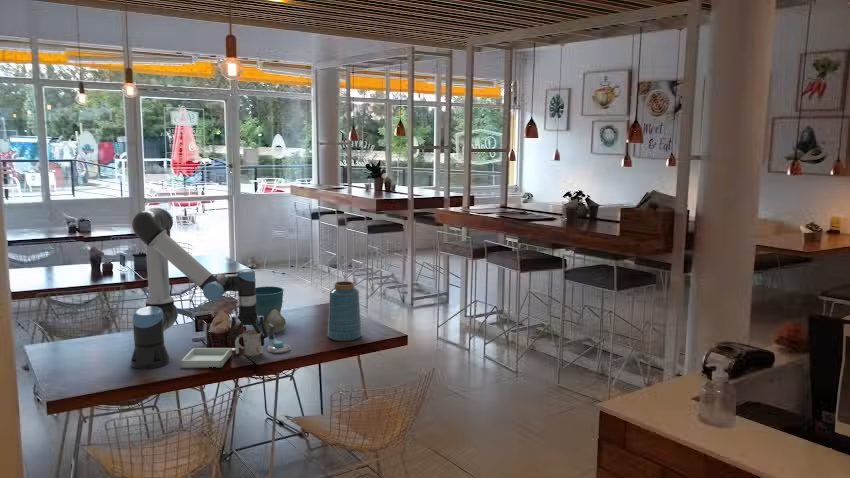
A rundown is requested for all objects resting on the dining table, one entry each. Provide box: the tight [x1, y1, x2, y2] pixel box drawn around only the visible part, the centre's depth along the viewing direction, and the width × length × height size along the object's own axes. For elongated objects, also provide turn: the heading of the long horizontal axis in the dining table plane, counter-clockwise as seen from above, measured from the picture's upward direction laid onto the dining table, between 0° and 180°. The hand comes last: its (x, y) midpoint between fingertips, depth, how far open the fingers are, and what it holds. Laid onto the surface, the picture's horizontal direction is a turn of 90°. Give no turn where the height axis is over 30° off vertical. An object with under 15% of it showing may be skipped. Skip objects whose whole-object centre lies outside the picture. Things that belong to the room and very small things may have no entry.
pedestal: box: [267, 343, 291, 354], centre depth 302 cm, size 10×10×2 cm
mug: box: [236, 329, 263, 357], centre depth 296 cm, size 8×13×10 cm, turn 75°
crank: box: [268, 324, 285, 348], centre depth 305 cm, size 15×4×8 cm, turn 32°
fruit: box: [264, 307, 286, 334], centre depth 328 cm, size 10×9×12 cm
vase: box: [327, 280, 362, 342], centre depth 320 cm, size 16×16×27 cm
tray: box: [180, 347, 233, 369], centre depth 286 cm, size 17×17×3 cm
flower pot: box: [255, 285, 284, 325], centre depth 345 cm, size 18×18×17 cm
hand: (249, 352), depth 296 cm, fingers open, 10 cm apart
